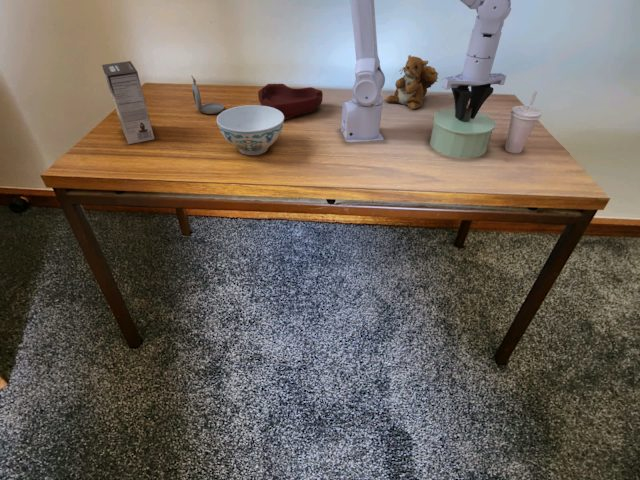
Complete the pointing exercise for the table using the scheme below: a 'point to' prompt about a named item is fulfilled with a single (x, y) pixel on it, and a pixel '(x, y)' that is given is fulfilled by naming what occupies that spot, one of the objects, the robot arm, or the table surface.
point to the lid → (464, 122)
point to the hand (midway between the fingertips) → (464, 117)
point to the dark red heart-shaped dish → (290, 99)
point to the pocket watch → (206, 108)
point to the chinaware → (251, 127)
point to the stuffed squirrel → (414, 83)
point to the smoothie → (521, 126)
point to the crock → (458, 143)
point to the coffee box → (129, 101)
